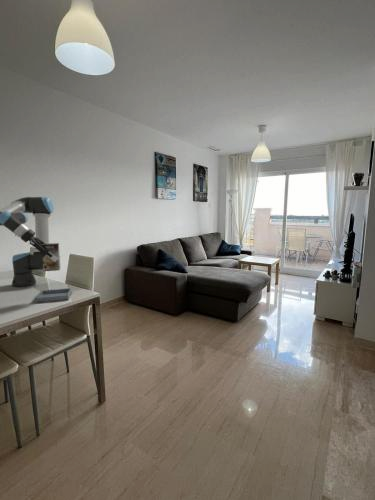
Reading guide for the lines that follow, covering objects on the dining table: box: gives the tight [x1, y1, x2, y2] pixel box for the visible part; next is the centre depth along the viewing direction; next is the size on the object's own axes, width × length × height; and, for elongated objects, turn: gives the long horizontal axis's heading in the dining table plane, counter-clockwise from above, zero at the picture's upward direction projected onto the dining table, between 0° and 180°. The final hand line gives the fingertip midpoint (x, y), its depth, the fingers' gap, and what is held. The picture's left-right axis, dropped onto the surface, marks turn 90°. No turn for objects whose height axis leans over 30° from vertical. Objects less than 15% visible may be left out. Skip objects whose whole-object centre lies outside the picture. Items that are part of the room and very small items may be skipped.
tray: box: [33, 287, 73, 304], centre depth 159 cm, size 16×18×3 cm
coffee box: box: [42, 242, 61, 272], centre depth 156 cm, size 9×6×16 cm
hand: (57, 259), depth 157 cm, fingers closed on coffee box, 7 cm apart
